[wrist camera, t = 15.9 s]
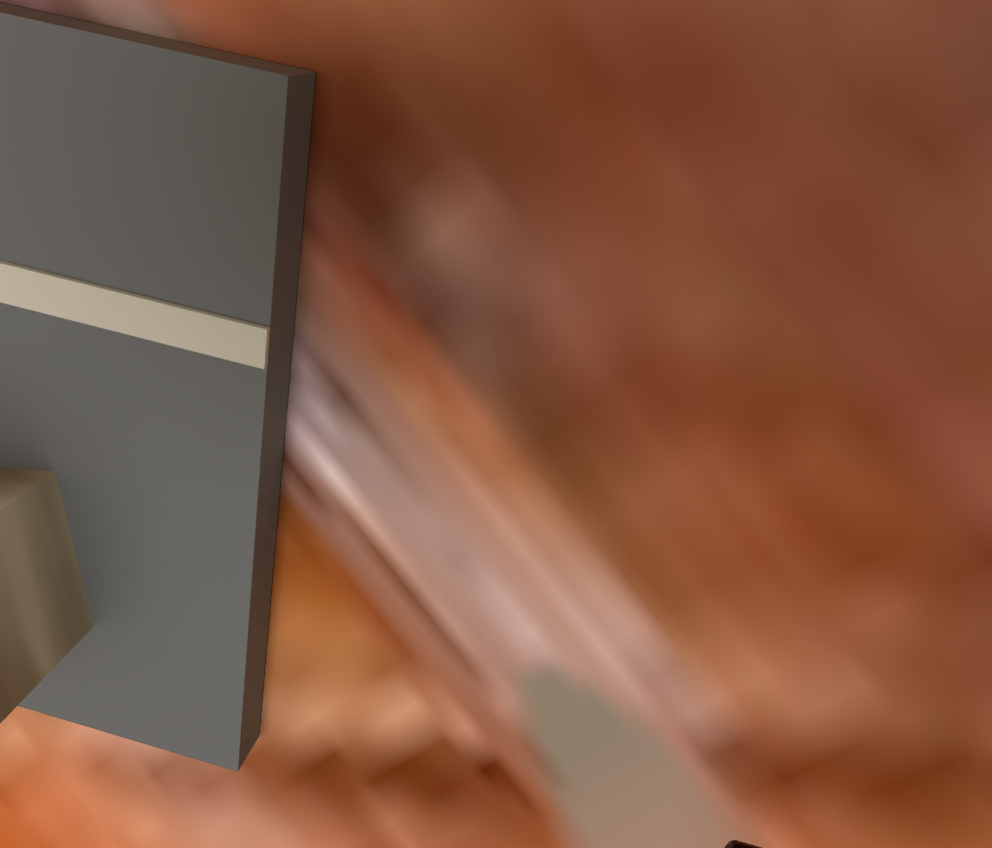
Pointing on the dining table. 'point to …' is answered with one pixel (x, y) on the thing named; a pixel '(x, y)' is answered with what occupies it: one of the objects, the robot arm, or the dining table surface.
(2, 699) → the birch post
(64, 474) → the charcoal board
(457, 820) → the dining table surface
